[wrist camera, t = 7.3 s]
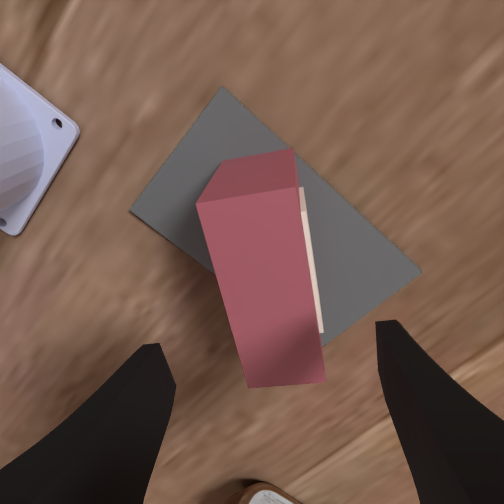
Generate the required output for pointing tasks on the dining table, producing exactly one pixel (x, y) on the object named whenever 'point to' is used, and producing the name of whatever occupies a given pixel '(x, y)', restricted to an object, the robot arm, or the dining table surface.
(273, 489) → the tin
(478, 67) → the dining table surface
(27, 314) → the dining table surface
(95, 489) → the robot arm
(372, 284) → the mat
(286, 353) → the box
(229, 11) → the dining table surface
